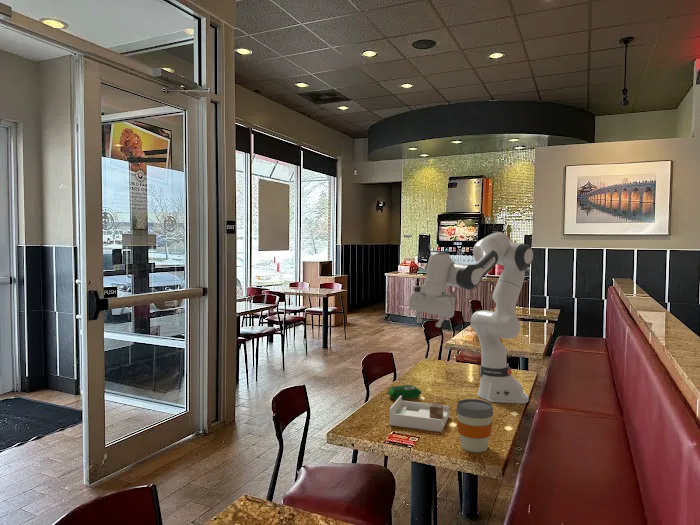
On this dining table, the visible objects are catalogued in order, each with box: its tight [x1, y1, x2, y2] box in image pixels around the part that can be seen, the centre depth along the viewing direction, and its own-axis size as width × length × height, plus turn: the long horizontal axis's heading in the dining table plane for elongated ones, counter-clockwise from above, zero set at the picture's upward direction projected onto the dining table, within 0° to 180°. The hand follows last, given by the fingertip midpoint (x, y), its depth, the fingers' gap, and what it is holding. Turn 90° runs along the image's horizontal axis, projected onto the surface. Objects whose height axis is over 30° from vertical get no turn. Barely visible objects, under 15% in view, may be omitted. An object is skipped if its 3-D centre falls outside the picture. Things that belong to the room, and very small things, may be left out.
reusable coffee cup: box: [455, 398, 494, 453], centre depth 178 cm, size 13×13×15 cm
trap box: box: [388, 396, 450, 433], centre depth 203 cm, size 20×17×6 cm
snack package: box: [387, 384, 422, 401], centre depth 233 cm, size 7×16×5 cm, turn 105°
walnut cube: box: [430, 402, 444, 419], centre depth 201 cm, size 4×4×4 cm
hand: (428, 324), depth 206 cm, fingers open, 8 cm apart
